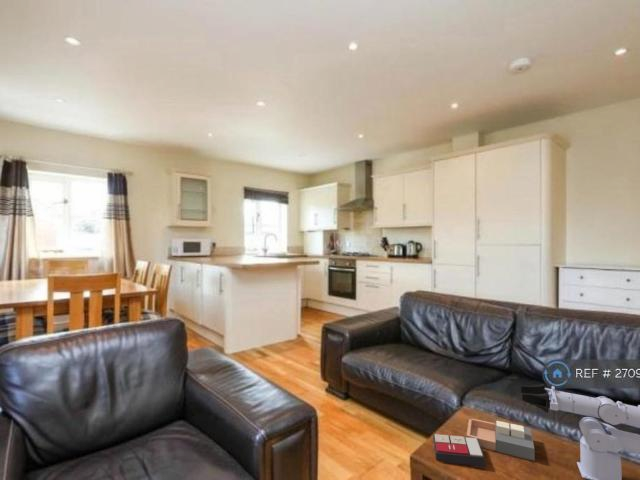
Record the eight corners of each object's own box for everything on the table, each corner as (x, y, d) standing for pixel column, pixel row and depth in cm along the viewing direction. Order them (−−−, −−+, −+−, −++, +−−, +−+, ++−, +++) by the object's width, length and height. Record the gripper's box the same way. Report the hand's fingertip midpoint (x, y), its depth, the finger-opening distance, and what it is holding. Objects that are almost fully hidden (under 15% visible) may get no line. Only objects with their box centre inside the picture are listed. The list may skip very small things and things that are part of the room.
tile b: (508, 430, 120) (508, 423, 120) (509, 435, 117) (509, 428, 117) (496, 427, 122) (496, 420, 122) (496, 432, 119) (496, 425, 119)
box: (495, 431, 127) (495, 423, 127) (495, 451, 114) (495, 442, 114) (469, 425, 131) (469, 417, 131) (466, 444, 119) (466, 435, 119)
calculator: (432, 432, 120) (477, 436, 116) (433, 444, 120) (478, 448, 116) (435, 450, 110) (484, 455, 106) (436, 463, 109) (485, 468, 106)
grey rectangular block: (530, 439, 121) (530, 428, 122) (534, 461, 109) (534, 448, 109) (495, 431, 127) (495, 420, 127) (496, 451, 114) (495, 439, 114)
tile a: (523, 433, 118) (523, 426, 118) (524, 439, 115) (524, 431, 115) (510, 430, 120) (510, 423, 120) (511, 436, 117) (510, 428, 117)
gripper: (567, 382, 112) (520, 374, 119) (575, 397, 100) (523, 387, 106) (567, 404, 112) (520, 394, 118) (575, 421, 99) (522, 410, 106)
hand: (521, 392), depth 112 cm, fingers open, 7 cm apart
